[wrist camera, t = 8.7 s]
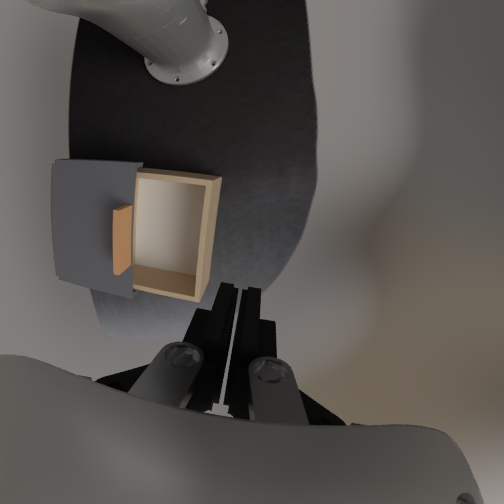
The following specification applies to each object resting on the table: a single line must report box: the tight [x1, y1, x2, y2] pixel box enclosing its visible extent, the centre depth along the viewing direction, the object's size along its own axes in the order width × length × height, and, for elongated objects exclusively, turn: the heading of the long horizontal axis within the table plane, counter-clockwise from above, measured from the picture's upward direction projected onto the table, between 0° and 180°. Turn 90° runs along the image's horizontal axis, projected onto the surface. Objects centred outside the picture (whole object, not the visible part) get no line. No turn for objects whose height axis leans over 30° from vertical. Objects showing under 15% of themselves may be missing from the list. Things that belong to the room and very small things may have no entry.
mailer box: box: [133, 167, 222, 302], centre depth 37 cm, size 16×13×7 cm
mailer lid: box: [51, 159, 143, 299], centre depth 33 cm, size 18×14×6 cm
